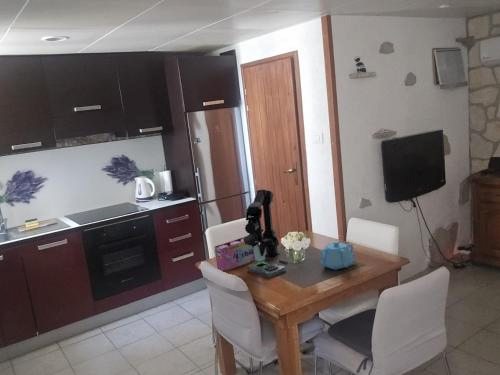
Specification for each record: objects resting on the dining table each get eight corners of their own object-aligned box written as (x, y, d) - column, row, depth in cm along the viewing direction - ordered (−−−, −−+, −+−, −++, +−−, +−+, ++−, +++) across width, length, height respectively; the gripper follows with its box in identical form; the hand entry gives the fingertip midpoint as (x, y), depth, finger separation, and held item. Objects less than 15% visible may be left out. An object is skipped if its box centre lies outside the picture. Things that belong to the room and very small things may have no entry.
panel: (263, 265, 253) (263, 259, 253) (285, 271, 239) (285, 265, 239) (247, 271, 246) (247, 266, 245) (269, 278, 232) (268, 272, 231)
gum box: (250, 257, 270) (247, 235, 268) (257, 259, 264) (255, 238, 261) (216, 268, 257) (213, 246, 255) (224, 271, 250) (220, 248, 248)
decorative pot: (346, 273, 226) (343, 248, 224) (317, 269, 236) (315, 245, 233) (358, 262, 239) (356, 238, 237) (330, 259, 249) (329, 236, 246)
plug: (260, 257, 248) (258, 244, 246) (265, 259, 245) (263, 245, 243) (255, 260, 245) (253, 246, 244) (259, 261, 242) (258, 247, 241)
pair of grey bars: (280, 261, 256) (280, 259, 256) (287, 263, 251) (287, 261, 251) (271, 265, 251) (271, 263, 251) (279, 267, 247) (278, 265, 247)
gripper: (234, 229, 244) (238, 256, 247) (256, 234, 230) (259, 262, 232) (249, 224, 251) (253, 251, 254) (271, 229, 237) (275, 256, 239)
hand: (259, 255), depth 245 cm, fingers closed on plug, 4 cm apart
